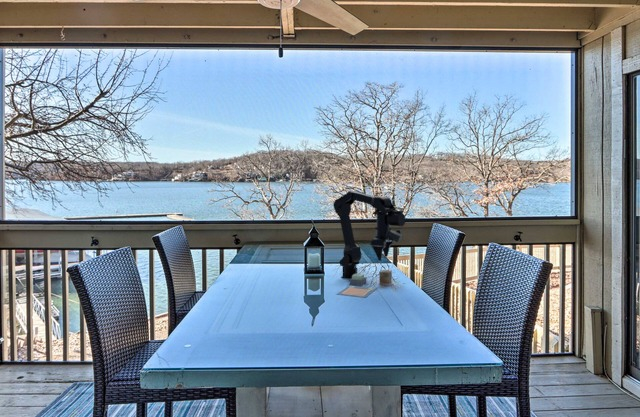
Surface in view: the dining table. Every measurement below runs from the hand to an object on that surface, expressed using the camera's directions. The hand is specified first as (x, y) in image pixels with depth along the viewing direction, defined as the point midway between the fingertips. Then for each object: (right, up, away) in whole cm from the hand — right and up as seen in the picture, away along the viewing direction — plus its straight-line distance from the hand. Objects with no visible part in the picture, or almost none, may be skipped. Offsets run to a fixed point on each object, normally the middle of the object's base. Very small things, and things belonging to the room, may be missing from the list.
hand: (383, 258), depth 192 cm
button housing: (-11, -12, +3) cm, 17 cm away
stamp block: (+1, -12, +2) cm, 12 cm away
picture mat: (-13, -13, -10) cm, 21 cm away
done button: (-11, -10, +3) cm, 15 cm away
